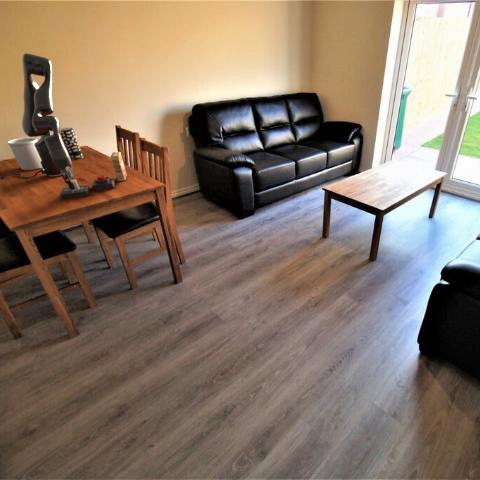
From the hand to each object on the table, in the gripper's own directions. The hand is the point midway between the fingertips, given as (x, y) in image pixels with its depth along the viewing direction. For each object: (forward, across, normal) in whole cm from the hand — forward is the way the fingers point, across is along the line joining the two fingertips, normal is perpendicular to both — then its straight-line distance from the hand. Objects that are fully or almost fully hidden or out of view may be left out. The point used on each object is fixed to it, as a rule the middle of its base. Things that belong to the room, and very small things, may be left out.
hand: (73, 187), depth 176 cm
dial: (+1, 0, 0) cm, 1 cm away
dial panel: (+4, 0, 0) cm, 4 cm away
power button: (0, -6, +13) cm, 14 cm away
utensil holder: (+4, -64, -31) cm, 71 cm away
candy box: (+5, -17, +22) cm, 28 cm away
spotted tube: (+4, -75, -9) cm, 76 cm away
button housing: (+4, -6, +13) cm, 15 cm away
